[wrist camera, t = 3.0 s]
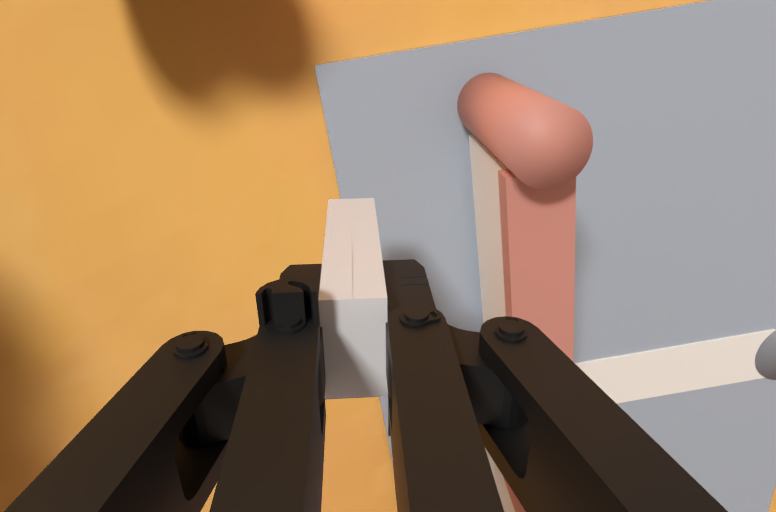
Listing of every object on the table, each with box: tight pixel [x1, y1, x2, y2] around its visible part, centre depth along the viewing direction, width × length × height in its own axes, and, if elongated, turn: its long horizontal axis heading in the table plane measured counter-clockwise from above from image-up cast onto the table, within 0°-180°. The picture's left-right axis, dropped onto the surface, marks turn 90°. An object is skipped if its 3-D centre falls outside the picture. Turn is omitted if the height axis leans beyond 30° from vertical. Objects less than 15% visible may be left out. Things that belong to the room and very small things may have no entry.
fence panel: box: [457, 73, 593, 362], centre depth 19 cm, size 14×2×7 cm, turn 8°
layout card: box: [315, 0, 776, 512], centre depth 27 cm, size 23×34×1 cm
